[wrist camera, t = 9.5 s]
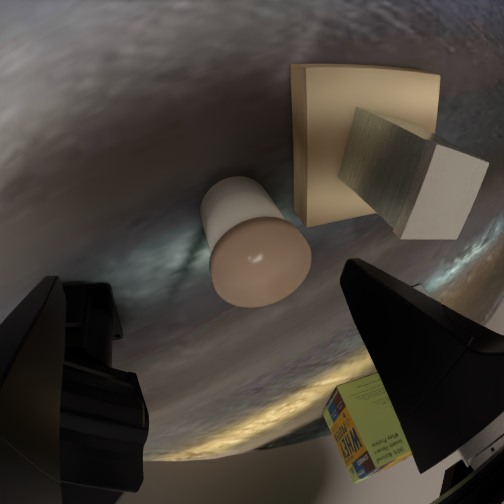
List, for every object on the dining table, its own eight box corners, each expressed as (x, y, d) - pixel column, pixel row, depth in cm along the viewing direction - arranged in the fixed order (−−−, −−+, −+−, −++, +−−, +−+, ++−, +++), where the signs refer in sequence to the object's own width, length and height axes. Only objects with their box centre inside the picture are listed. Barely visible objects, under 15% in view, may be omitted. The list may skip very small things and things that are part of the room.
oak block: (402, 187, 27) (422, 203, 24) (291, 207, 25) (306, 227, 22) (414, 68, 20) (440, 75, 17) (286, 63, 18) (305, 67, 16)
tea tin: (392, 184, 22) (456, 239, 17) (335, 178, 21) (400, 239, 15) (412, 121, 19) (489, 163, 14) (355, 104, 18) (436, 144, 12)
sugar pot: (267, 238, 25) (300, 301, 20) (195, 243, 24) (211, 312, 18) (277, 172, 22) (321, 224, 17) (196, 173, 20) (214, 229, 15)
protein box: (335, 385, 46) (375, 469, 34) (409, 359, 50) (451, 428, 38) (320, 413, 52) (352, 485, 40) (388, 389, 56) (422, 450, 44)
